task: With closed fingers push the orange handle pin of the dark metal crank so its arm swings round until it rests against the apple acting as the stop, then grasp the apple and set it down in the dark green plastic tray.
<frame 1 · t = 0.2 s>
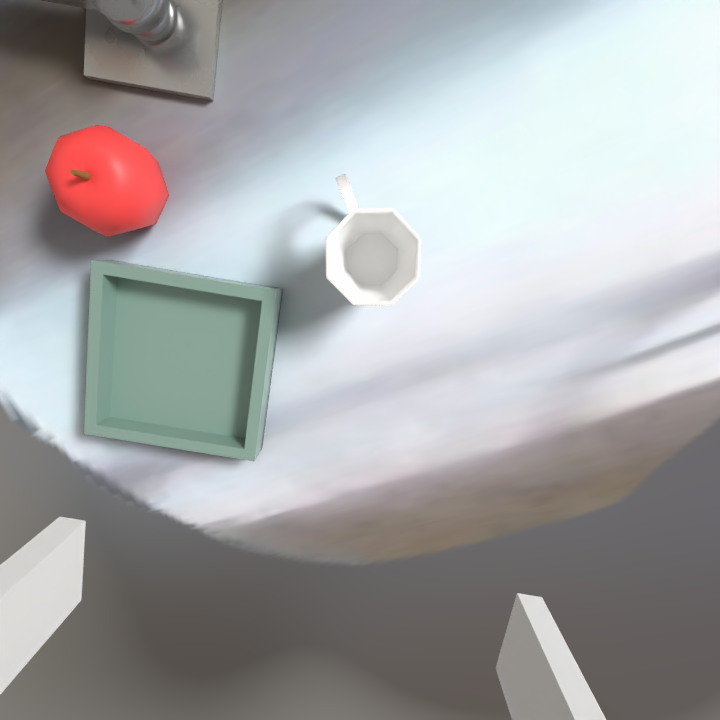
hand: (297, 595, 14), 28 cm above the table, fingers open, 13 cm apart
cup: (365, 243, 39), on the table
tray: (190, 357, 41), on the table
crank post: (156, 20, 35), on the table
apple: (135, 191, 38), on the table
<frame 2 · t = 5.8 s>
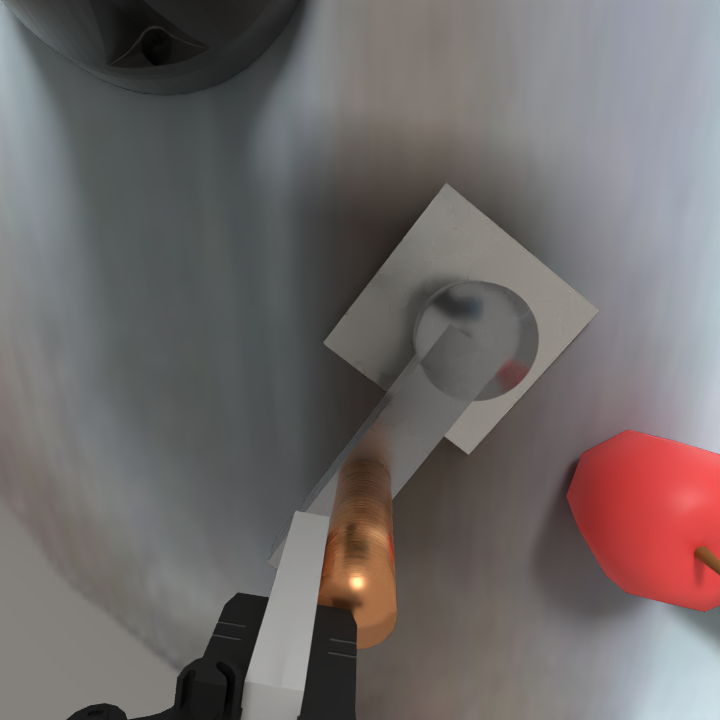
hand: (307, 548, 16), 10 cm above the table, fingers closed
crank: (396, 477, 17), point 8 cm above the table, hinge at -87.6°, touching gripper
crank post: (455, 325, 24), on the table
apple: (619, 478, 26), on the table
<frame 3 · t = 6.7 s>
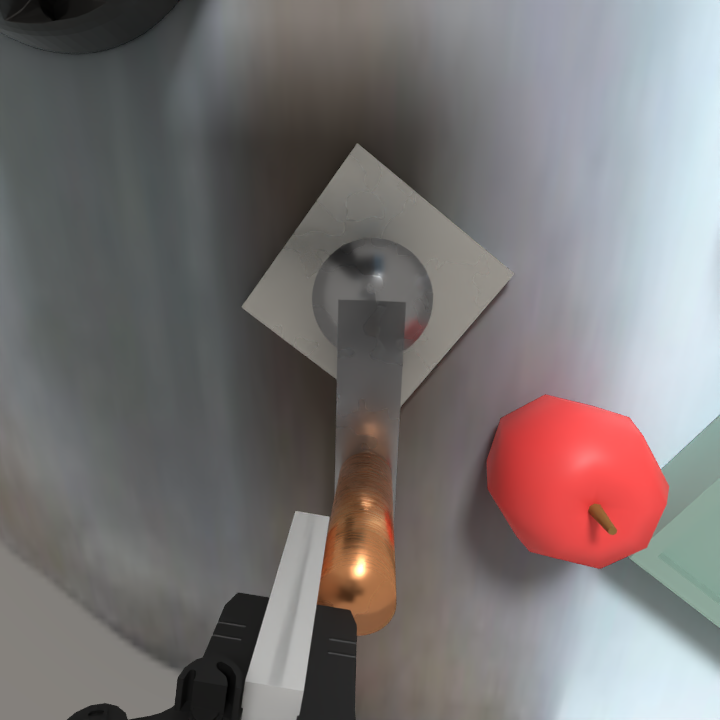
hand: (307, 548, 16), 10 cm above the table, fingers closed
crank: (364, 458, 17), point 8 cm above the table, hinge at -53.8°, touching gripper
crank post: (374, 289, 24), on the table
apple: (542, 444, 26), on the table
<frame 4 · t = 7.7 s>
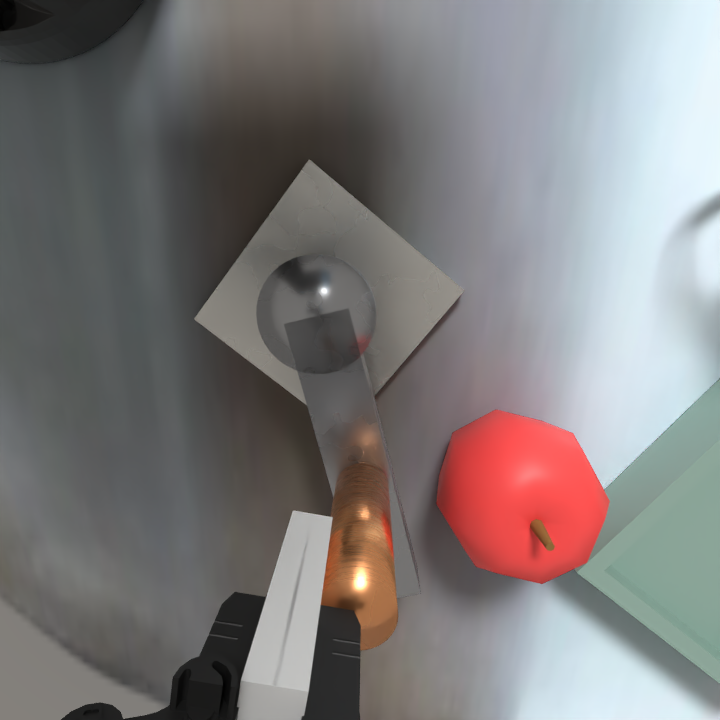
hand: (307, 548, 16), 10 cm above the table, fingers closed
crank: (346, 470, 17), point 8 cm above the table, hinge at -37.2°, touching gripper
crank post: (328, 303, 24), on the table
apple: (495, 458, 26), on the table
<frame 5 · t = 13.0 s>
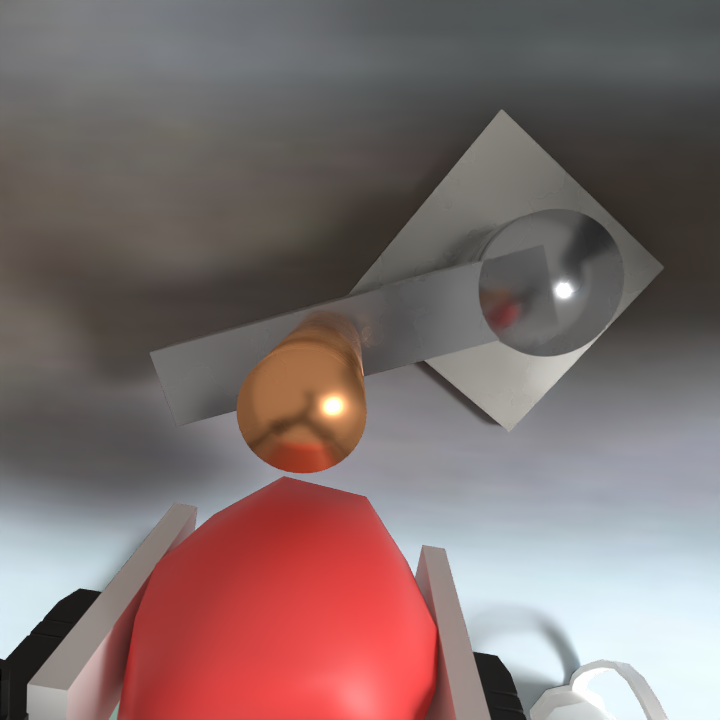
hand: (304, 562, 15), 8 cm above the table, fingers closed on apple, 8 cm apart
crank: (395, 341, 13), point 8 cm above the table, hinge at -34.8°
cup: (571, 690, 26), on the table
crank post: (499, 281, 21), on the table
apple: (306, 551, 16), point 7 cm above the table, touching gripper
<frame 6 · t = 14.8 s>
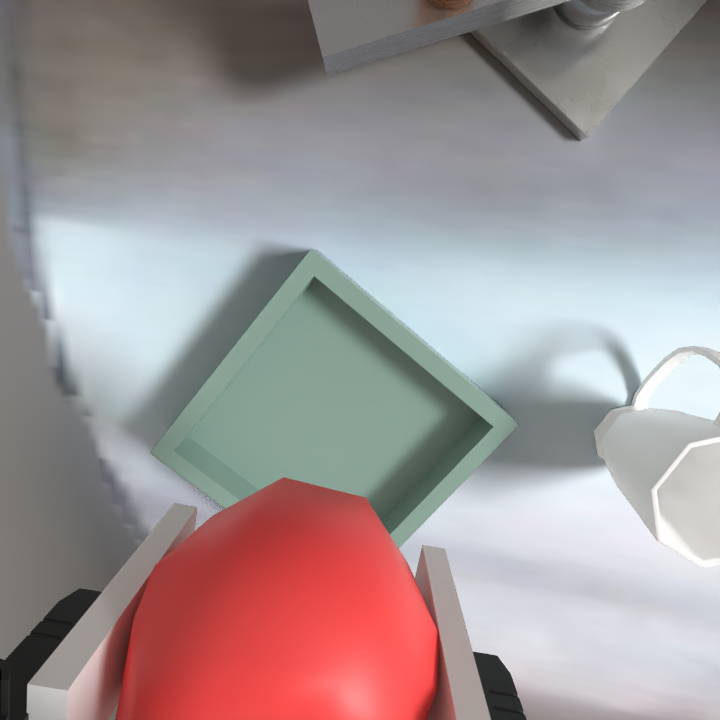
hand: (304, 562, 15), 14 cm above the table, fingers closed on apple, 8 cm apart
cup: (632, 413, 28), on the table
tray: (335, 421, 29), on the table
apple: (306, 552, 16), point 13 cm above the table, touching gripper
when the fingers open (3 cm above the table, at t = 17.0 s): apple drops 2 cm, resting on tray.
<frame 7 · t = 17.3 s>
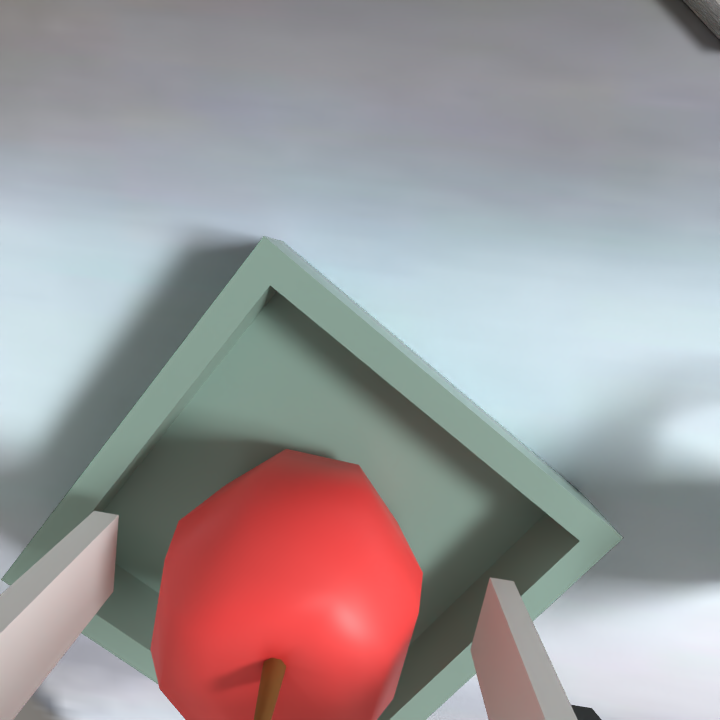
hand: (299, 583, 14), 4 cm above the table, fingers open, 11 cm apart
tray: (314, 511, 18), on the table
apple: (308, 518, 18), point 1 cm above the table, touching tray
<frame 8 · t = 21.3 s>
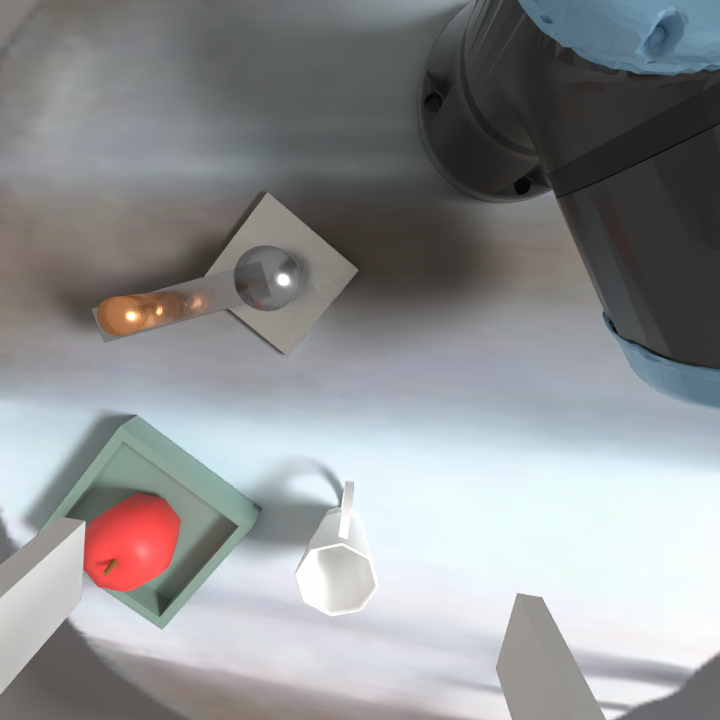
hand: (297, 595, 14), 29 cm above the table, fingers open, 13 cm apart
crank: (181, 301, 32), point 8 cm above the table, hinge at -34.8°
cup: (344, 511, 45), on the table
tray: (156, 515, 45), on the table
crank post: (279, 277, 40), on the table
apple: (152, 518, 44), point 1 cm above the table, touching tray
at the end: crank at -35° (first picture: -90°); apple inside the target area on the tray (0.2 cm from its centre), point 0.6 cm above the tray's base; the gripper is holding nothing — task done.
